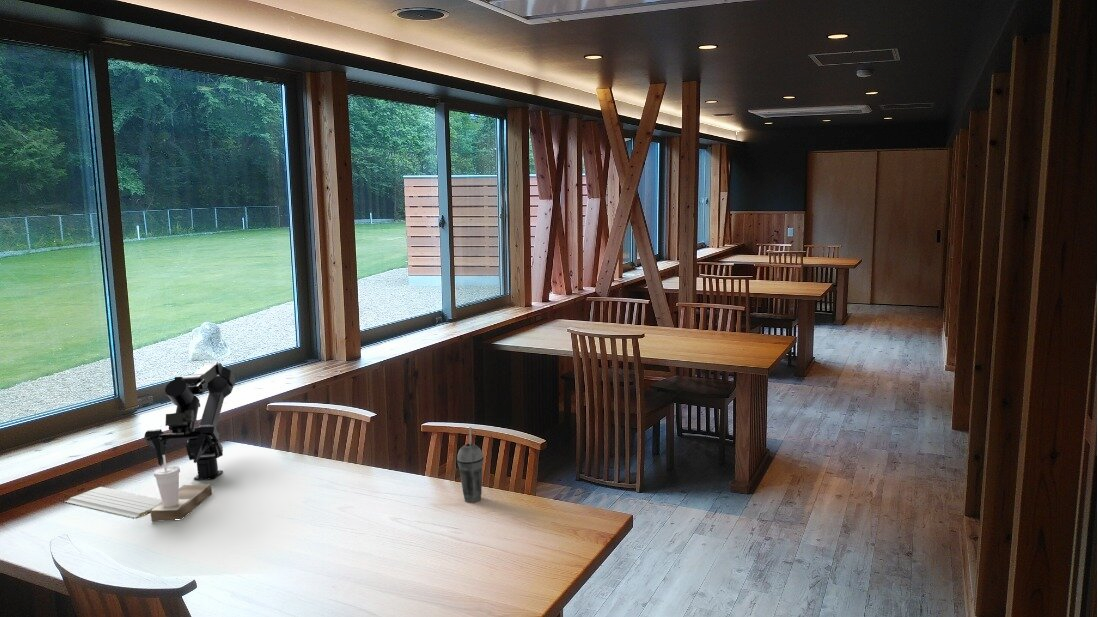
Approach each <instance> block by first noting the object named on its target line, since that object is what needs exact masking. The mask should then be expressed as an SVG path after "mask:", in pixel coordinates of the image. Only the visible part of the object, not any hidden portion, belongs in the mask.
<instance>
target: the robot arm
mask: <svg viewBox="0 0 1098 617" xmlns="http://www.w3.org/2000/svg"><path fill="white" fill-rule="evenodd" d="M235 385H236V377H235V374H234V373H233V372H232V371H231V370H230V368H226V367H224V366H223V365H222V363H221V362H219V361H217V362H206V363H203V365H202V367H200V368H199V369H198V370H196V371H195V372H194V373H192V374H185V375H180V376H175V377H174V379H173V380H171V381H170V382H168V384H166V385H165V388H164V392H165V394H166V396H167V397H168V398H169V399H170V401H171V402H172V404H173V405H175V407H176V409H175V412H174V413H166V414H165V427H168V430H169V431H171V432H167V433H164V431H163V430H162V429H148V430H146V431H145V433H144V436H143V439H144V440H145V442H146V443H147V444H148V446H150V448H153V449H155V452H156V458H157V461H158V465H159V466H160V467H162V466H163V464H164V462H163V455H165V456H166V450H167V447H166V444H167V441H176V440H187V441H186V443H185V444H186V445H185V449H186V452H187V456H188V459H189V461H193V463H194V464H196V468H197V475H196V476H194V477H193V480H194V481H196V480H197V481H199V480H200V481H201V480H214V479H216V478H218V477H219V476H220V475H221V474H222V473H223V472H224V470H223V469H222V470H221V469H220V470H219V466H218V459H219V458H220V457H223V455H224V449H223V448H224V447H223V445H222V444H221V442H220V433H219V431H218V430H217V426H218V422H219V418H220V415H221V411H222V408H223V404H224V400H225V398H227V397H228V396H229V395H230V394H232V392H233V388H234V387H236V386H235ZM205 392H208V396H207V399H206V403H205V406H204V409H203V412H202V416H201V419H200V422H199V421H198V412H199V408H201V403H200V399H199V398H198V396H199V395H204V393H205ZM197 395H198V396H197ZM198 422H199V425H198ZM196 425H198V427H196Z"/></svg>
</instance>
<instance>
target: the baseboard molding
mask: <svg viewBox="0 0 1098 617" xmlns="http://www.w3.org/2000/svg"><path fill="white" fill-rule="evenodd" d="M100 485H101V484H100V483H98V484H97V485H95V488H93V489H91V490H88V489H90V487H89V488H86V487H83V488H81V489H78V490H77V492H75V493H76V494H77V493H80V492H82V491H85V490H88V491H86V492H82V493H80V494H77V495H75V493H73V495H75V496H71V494H68V495H67V496H66V495H65V496H64V498H67V497H69V499H68V500H65V499H62V500H61V501H60V503H61V504H63V503H65V502H67V503H66V504H69V503H70V505H73V504H75V505H74V506H78V505H79V507H82V506H83V508H86V507H87V508H86V509H92V510H95V509H96V511H99V510H101V511H100V512H104V511H105V513H108V512H109V513H108V514H112V513H114V514H113V515H117V514H118V515H117V516H121V515H122V517H126V516H127V518H130V517H132V518H131V519H134V518H136V517H138V518H140V517H143V516H144V514H145V515H146V513H147V514H149V513H148V512H150V510H151V509H153V508H154V507H155V506H157V505H158V504H159V503H161V502H162V499H161V498H157V497H152V496H146V495H141V494H136V493H133V492H127V491H124V490H123V491H122V490H118V489H114V488H113V489H112V488H108V487H104V486H100ZM96 486H99V487H96ZM70 496H71V497H70ZM62 502H63V503H62ZM150 513H151V512H150ZM142 515H143V516H142ZM139 516H140V517H139ZM136 519H137V518H136Z"/></svg>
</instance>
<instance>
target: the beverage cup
mask: <svg viewBox="0 0 1098 617" xmlns="http://www.w3.org/2000/svg"><path fill="white" fill-rule="evenodd" d="M468 435H469V436H468V437H469V443H466V444H464V445H463V446H461V447H460V448H459V450H458V453H457V455H456V457H457V458H456V461H457V465H458V468H459V476H460V481H461V487H462V493H463V494H462V495H463V499H464V502H466V503H469V504H475V503H478V502H481V500H482V492H483V490H482V486H483V484H482V482H483V466H484V465H483V464H484V459H485V458H484V454H483V451H482V449H481V447H479V446H478V445H476V444H474V443H472V427H470V426H469V434H468Z"/></svg>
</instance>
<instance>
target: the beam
mask: <svg viewBox="0 0 1098 617" xmlns="http://www.w3.org/2000/svg"><path fill="white" fill-rule="evenodd" d="M212 495H213V492H212V484H211V483H204V484H184V485H182V486H179V503H178V504H177V505H175V506H172V507H164V506H163V503H162V502H161V503H159V504H158V505H157V506H155V507H154V508H153V509H151V510H150V517H151V518H150V519H151V522H157V521H156V520H169V521H176V520H175V519H182V518H183V517H184V518H186V517H187V516H188V515H189V514H190V513H191V512H192V510H193V509H194V510H196V508H197V507H199V505H201V504H202V503H203V502H205V501H206V500H207V499H208V498H209V497H211V496H212ZM194 510H193V511H194ZM188 513H189V514H188ZM187 514H188V515H187ZM186 515H187V516H186ZM184 518H183V519H184ZM183 519H182V520H183Z"/></svg>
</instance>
